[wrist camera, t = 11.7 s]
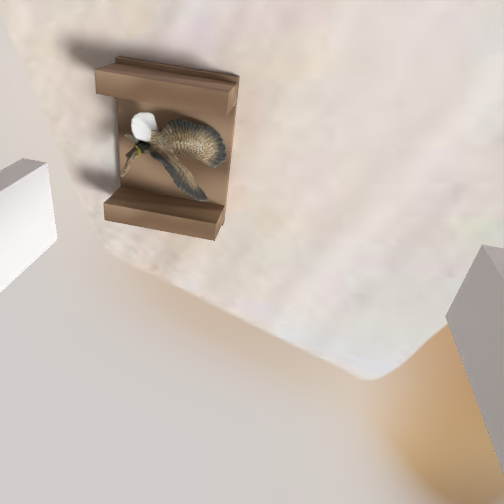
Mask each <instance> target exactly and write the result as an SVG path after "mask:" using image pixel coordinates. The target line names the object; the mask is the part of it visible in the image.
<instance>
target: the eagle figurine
mask: <svg viewBox="0 0 504 504" xmlns="http://www.w3.org/2000/svg"><path fill="white" fill-rule="evenodd" d="M131 129H132V133H133V135H134V137H133V136H131V135H129V134H127V133H125V134H124V136H125V137H127V138H129V139H130V140H131V141H133V143H134V144H135V145H134V147H133V148H132V149H131V150H130V151H129V152H128V153H127V154H126V155H125V156H126V158H127V161H126V164H125V166H124V168H123V170H122V172H121V174H120V177H123V176H124V175H125V174H126V173H127V172H128V170H129V168H130V166H131V165H132V162H133V160H134V159H135V158H137V157H138V156H139V155H140V154H141V153H143V154H145V153H147V152H149V153H150V155H151V156H152V157H153V159H154V160H158V161H159V162H161V163H162V164H163V165H164V166H165V170H167V171H168V173H170V176H171V177H172V178H173V181H174V184H175V185H177V187H178V188H181V189H182V191H185V193H187V194H188V195H190V196H191V197H192V198H194V199H195V200H196V199H197V200H199V201H203V202H204V201H208V199H207V196H206V195H205V192H203V190H202V189H201V188H200V187H199V186H198V184H197V183H196V181H195V179H194V177H193V175H192V173H191V172H190V171H189V170H188V168H187V167H186V166H185V165H184V164H183V163H182V162H181V161H179V160H178V158H177V157H176V156H175V155H184V156H189V157H192V158H194V159H197V160H200V161H202V162H203V163H205V164H207V165H208V166H210V167H212V168H216V167H217V165H221V163H222V161H223V162H224V161H226V157H227V155H228V153H227V152H226V149H227V147H226V146H225V145H224V144H223V143H222V142H223V139H222V138H220V134H219V133H218V132H217V131H216V130H214V129H213V128H210V127H209V126H203V125H201V124H197V125H196V124H195V123H191V122H187V121H186V120H183V119H177V120H171V121H169V122H168V124H167V125H165V127H164V128H161V130H160V131H159V130H158V127H157V124H156V121H155V117H154V115H153V114H152V113H149V112H139V113H138V114H135V115H134V117H133V118H132V120H131ZM148 143H149V144H148Z"/></svg>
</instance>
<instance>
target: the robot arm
mask: <svg viewBox="0 0 504 504" xmlns="http://www.w3.org/2000/svg"><path fill="white" fill-rule="evenodd" d="M56 240H57V232H56V225H55V218H54V211H53V203H52V197H51V189H50V182H49V175H48V167H47V163H45V162H40V161H35V160H29V159H24V158H22V159H21V160H19V161H17V162H15V163H14V164H12V165H10V166H8V167H7V168H4V169H3V170H1V171H0V292H1V291H2V290H3V289H5V288H6V287H7V286H8V285H9V284H10V283H11V282H12V281H13V280H14V279H15V278H16V277H17V276H19V275H20V274H21V273H22V272H23V271H24V270H25V269H26V268H27V267H28V266H29V265H30V264H32V263H33V262H34V261H35V260H36V259H37V258H38V257H39V256H40V255H41V254H42V253H43V252H44V251H45V250H47V249H48V248H49V247H50V246H51V245H52V244H53V243H54V242H55V241H56ZM446 319H447V322H448V325H449V327H450V330H451V333H452V335H453V338H454V341H455V343H456V346H457V349H458V351H459V354H460V357H461V359H462V362H463V365H464V368H465V370H466V373H467V376H468V378H469V381H470V384H471V386H472V389H473V392H474V394H475V397H476V400H477V403H478V406H479V408H480V411H481V414H482V416H483V419H484V422H485V425H486V427H487V430H488V433H489V435H490V438H491V441H492V443H493V446H494V449H495V452H496V454H497V457H498V460H499V462H500V465H501V468H502V470H503V473H504V249H502V248H497V247H492V246H486V245H482V246H481V248H480V250H479V252H478V254H477V256H476V258H475V260H474V262H473V263H472V265H471V267H470V269H469V271H468V273H467V275H466V277H465V279H464V281H463V283H462V285H461V287H460V289H459V291H458V293H457V295H456V297H455V299H454V301H453V303H452V305H451V307H450V309H449V311H448V313H447V315H446Z"/></svg>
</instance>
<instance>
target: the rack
mask: <svg viewBox="0 0 504 504" xmlns="http://www.w3.org/2000/svg"><path fill="white" fill-rule="evenodd" d="M115 61H116V63H114V64H111V65H108V66H105V67H102V68H99V69H96V70H95V83H96V94H101V95H107V96H113V97H117V108H118V132H119V156H120V174H121V172H122V170H123V168H124V166H125V164H126V161H127V158H126V156H125V155H126V154H127V153H128V152H129V151H130V150H131V149H132V148H133V147H134V145H135V144H134V143H133V141H131V140H130V139H129V138H127V137H125V136H124V134H125V133H127V134H129V135H131V136H133V137H134V135H133V133H132V129H131V120H132V118H133V117H134V115H135V114H138V113H139V112H149V113H152V114H153V115H154V117H155V121H156V124H157V127H158V130H159V131H160V130H161V128H164V127H165V125H167V124H168V122H169V121H171V120H177V119H183V120H186V121H187V122H191V123H195V124H196V125H197V124H201V125H203V126H209V127H210V128H213V129H214V130H216V131H217V132H218V133H219V134H220V138H222V139H223V142H222V143H223V144H224V145H225V146H226V147H227V149H226V152H227V153H228V155H227V157H226V161H224V162H223V161H222V163H221V165H217V167H216V168H212V167H210V166H208V165H207V164H205V163H203V162H202V161H200V160H197V159H194V158H192V157H189V156H184V155H175V156H176V157H177V158H178V160H179V161H181V162H182V163H183V164H184V165H185V166H186V167H187V168H188V170H189V171H190V172H191V173H192V175H193V177H194V179H195V181H196V183H197V184H198V186H199V187H200V188H201V189H202V190H203V192H205V195H206V196H207V199H208V201H204V202H203V201H199V200H197V199H196V200H195V199H194V198H192V197H191V196H190V195H188V194H187V193H185V191H182V189H181V188H178V187H177V185H175V184H174V181H173V178H172V177H171V176H170V173H168V171H167V170H165V166H164V165H163V164H162V163H161V162H159V161H158V160H154V159H153V157H152V156H151V155H150V153H149V152H147V153H145V154H143V153H141V154H140V155H139V156H138V157H137V158H135V159H134V160H133V162H132V165H131V166H130V168H129V170H128V172H127V173H126V174H125V175H124V176H123V177H120V180H121V187H120V188H119V189H118V190H117V191H116V192H115V193H114V194H113V195H112V196H111V197H110V198H109V199H108V200H106V201H105V202H104V217H105V220H107V221H112V222H118V223H123V224H128V225H134V226H139V227H144V228H150V229H155V230H160V231H166V232H171V233H176V234H182V235H187V236H192V237H198V238H203V239H208V240H214V241H215V239H216V236H217V234H218V232H219V230H220V227H221V225H223V223H224V218H225V208H226V199H227V190H228V180H229V171H230V161H231V152H232V142H233V133H234V124H235V114H236V105H237V95H238V86H239V76H234V75H228V74H222V73H216V72H210V71H204V70H198V69H192V68H186V67H180V66H174V65H168V64H162V63H156V62H150V61H143V60H137V59H131V58H125V57H119V56H118V57H115ZM148 144H149V143H148Z"/></svg>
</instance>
